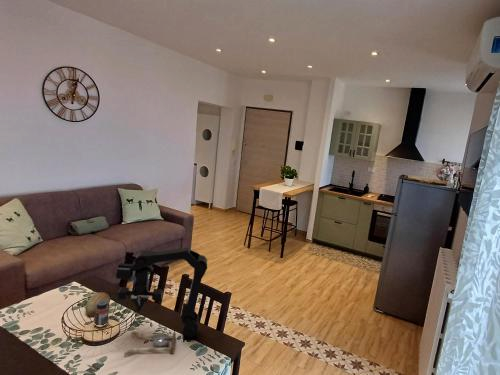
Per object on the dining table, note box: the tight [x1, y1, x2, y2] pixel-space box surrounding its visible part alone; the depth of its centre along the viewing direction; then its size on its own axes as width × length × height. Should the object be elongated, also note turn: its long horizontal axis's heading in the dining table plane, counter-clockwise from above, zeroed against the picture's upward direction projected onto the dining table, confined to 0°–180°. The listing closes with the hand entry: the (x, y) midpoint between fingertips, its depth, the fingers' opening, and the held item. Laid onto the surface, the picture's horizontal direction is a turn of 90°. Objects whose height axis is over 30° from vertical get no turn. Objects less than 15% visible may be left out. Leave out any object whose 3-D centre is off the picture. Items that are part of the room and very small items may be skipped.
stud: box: [152, 332, 170, 348], centre depth 143 cm, size 7×7×4 cm
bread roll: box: [85, 291, 111, 317], centre depth 163 cm, size 10×15×8 cm, turn 179°
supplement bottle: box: [93, 301, 110, 325], centre depth 152 cm, size 6×6×11 cm
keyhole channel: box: [123, 330, 177, 357], centre depth 143 cm, size 20×14×3 cm
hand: (139, 310), depth 147 cm, fingers closed
